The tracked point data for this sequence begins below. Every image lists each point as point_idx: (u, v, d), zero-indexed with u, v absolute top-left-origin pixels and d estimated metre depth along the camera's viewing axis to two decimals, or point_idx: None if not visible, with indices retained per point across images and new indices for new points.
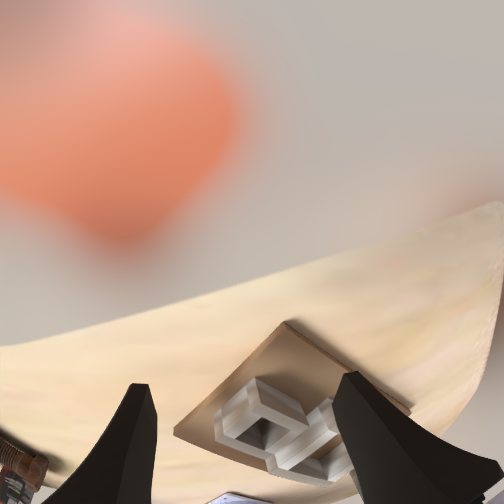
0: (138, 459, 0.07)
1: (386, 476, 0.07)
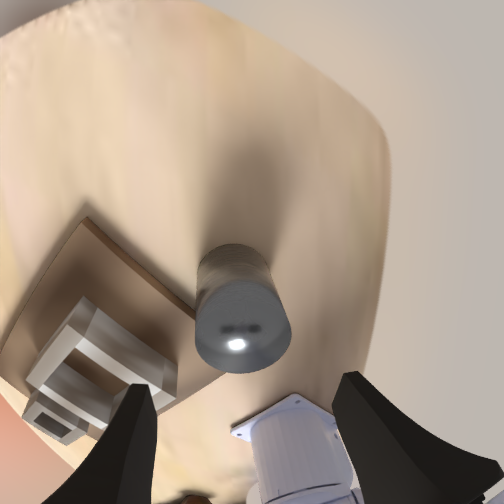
0: (138, 459, 0.07)
1: (386, 476, 0.07)
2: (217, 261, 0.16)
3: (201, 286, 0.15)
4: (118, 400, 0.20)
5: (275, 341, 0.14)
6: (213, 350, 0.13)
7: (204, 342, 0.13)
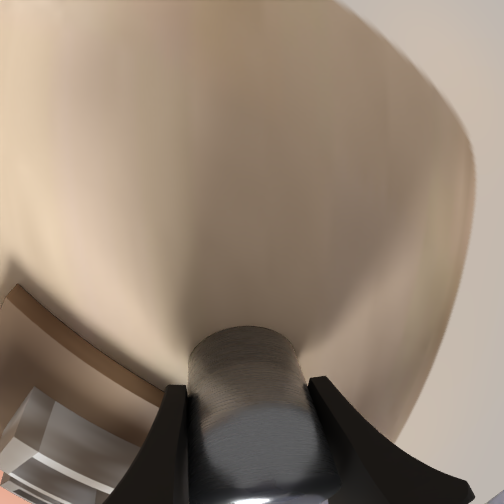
0: (181, 462, 0.07)
1: (348, 488, 0.06)
2: (219, 368, 0.09)
3: (194, 413, 0.08)
4: None
5: (315, 497, 0.07)
6: None
7: None
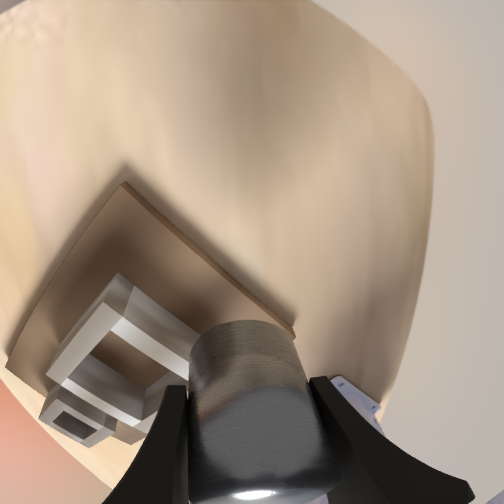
0: (181, 462, 0.07)
1: (348, 488, 0.06)
2: (220, 360, 0.09)
3: (195, 404, 0.08)
4: (152, 393, 0.19)
5: (314, 490, 0.07)
6: None
7: (204, 500, 0.06)
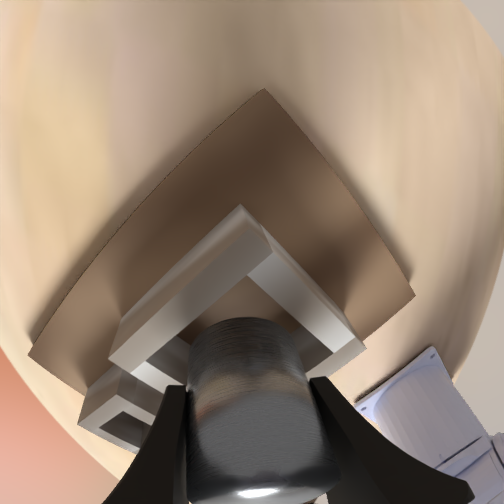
0: (181, 462, 0.07)
1: (348, 488, 0.06)
2: (223, 356, 0.09)
3: (195, 399, 0.08)
4: None
5: (313, 489, 0.07)
6: (216, 502, 0.06)
7: (202, 497, 0.06)
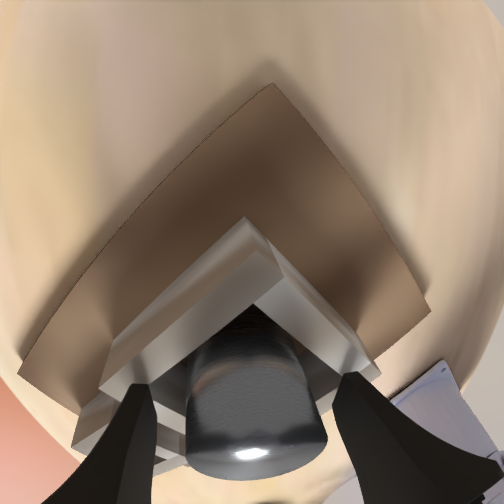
0: (138, 459, 0.07)
1: (386, 476, 0.07)
2: None
3: (195, 366, 0.10)
4: None
5: (302, 453, 0.08)
6: (212, 464, 0.08)
7: (199, 457, 0.07)
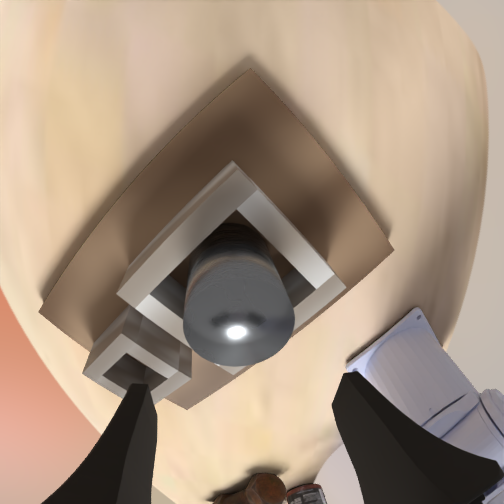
0: (138, 459, 0.07)
1: (386, 476, 0.07)
2: (213, 239, 0.14)
3: (194, 265, 0.13)
4: None
5: (276, 330, 0.12)
6: (204, 337, 0.12)
7: (194, 327, 0.11)
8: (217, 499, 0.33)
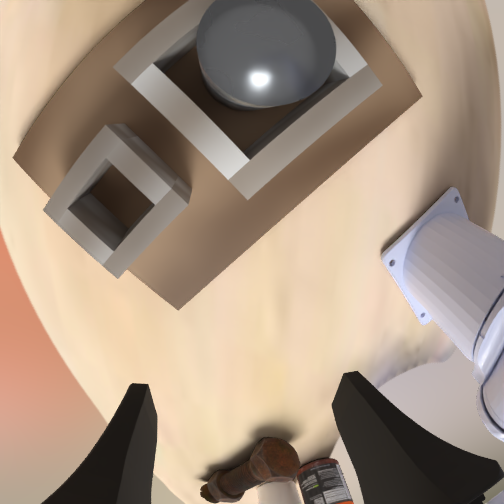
0: (138, 459, 0.07)
1: (386, 476, 0.07)
2: None
3: None
4: (260, 140, 0.14)
5: (314, 53, 0.08)
6: (222, 50, 0.08)
7: (211, 34, 0.07)
8: (213, 476, 0.29)
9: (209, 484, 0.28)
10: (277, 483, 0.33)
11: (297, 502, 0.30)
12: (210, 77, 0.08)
